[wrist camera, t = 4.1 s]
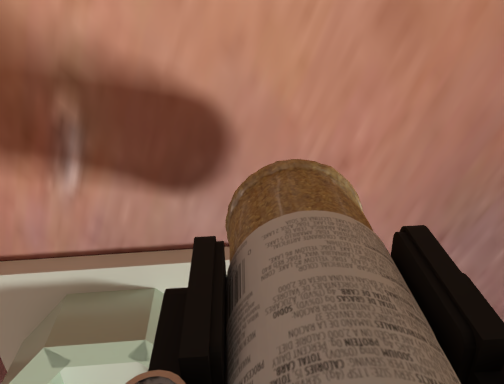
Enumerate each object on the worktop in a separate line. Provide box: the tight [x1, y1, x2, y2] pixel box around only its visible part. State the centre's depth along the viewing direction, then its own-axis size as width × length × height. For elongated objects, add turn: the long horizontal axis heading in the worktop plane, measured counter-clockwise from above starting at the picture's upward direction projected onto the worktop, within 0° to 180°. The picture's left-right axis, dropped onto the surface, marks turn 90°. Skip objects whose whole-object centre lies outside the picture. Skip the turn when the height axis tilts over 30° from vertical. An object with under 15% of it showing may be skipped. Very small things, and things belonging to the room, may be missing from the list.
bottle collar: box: [0, 246, 230, 384], centre depth 21 cm, size 12×12×4 cm
